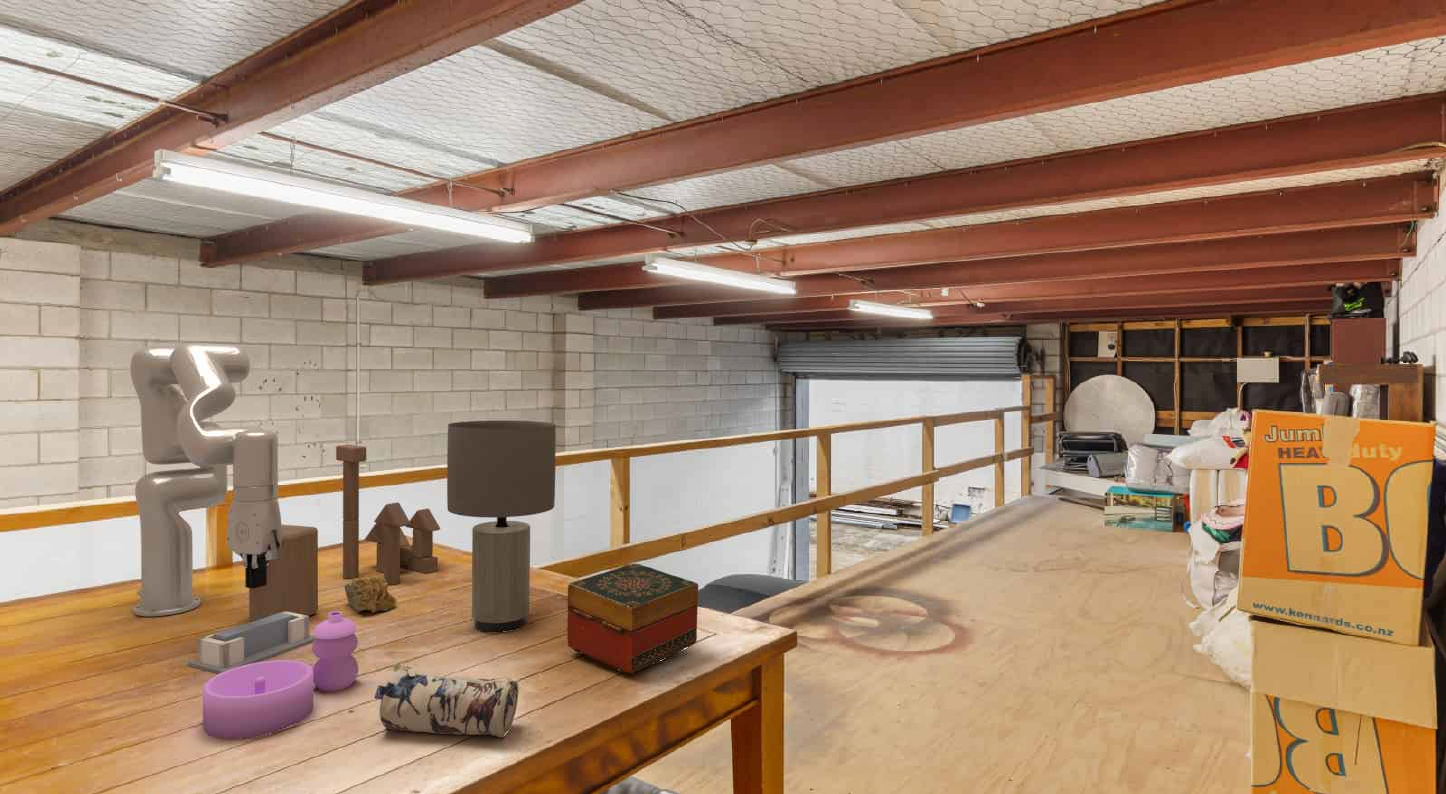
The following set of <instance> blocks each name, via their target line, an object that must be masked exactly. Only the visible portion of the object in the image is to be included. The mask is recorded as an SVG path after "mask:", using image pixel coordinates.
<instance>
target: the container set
mask: <svg viewBox="0 0 1446 794" xmlns="http://www.w3.org/2000/svg"><path fill="white" fill-rule="evenodd" d="M327 615H328V617H327V618H328V619H325V620H323V621H322V622H320V623H319V624H317V625H316V626H315V628H314V630H313V634H314V635H313V636H315V637H316V639H315V640H314V642H312V645H311V650H312V653H313V654H314V655H315V656H316V658H318V660H317V661H316V662H315V664H314V665H313V666H312V665H311V664H309V663H307V662H303V661H299V660H294V659H293V660H292V659H290V660H289V659H279V660H277V659H276V660H266V661H265V660H263V661H260V662H257V663H252V664H247V665H243V666H239V667H236V668H233V669H230V670H227V671H224V672H222V673H220V674H218V673H217V674H216V675H213V676H212V677H211V678H209V679H208V680H207V681H206V682H205V683H204V684H203V687H202V728H203V732H204V733H205V734H206V735H208V736H211V737H212V738H217V739H223V740H242V739H252V738H257V737H256V736H258V737H262V735H264V736H266V735H265V734H268V735H270V734H269V733H272V734H275V733H278V732H280V731H279V730H281V731H283V730H282V729H284V728H287V727H289V726H291V725H294V724H295V723H298V724H300V723H301V722H303V721H304V720H306V719H307V718H308V717H309V716H310V715H311V713H312V712H313V710H314V686H315V687H317V688H318V689H319V690H320V691H322V692H327V693H328V692H338V691H341V690H345V689H346V688H348V687H350V686H351V685H352V684H353V682H354V681H355V679H356V678H357V677H358V675H359V674H358V673H359V666H358V665H359V664H358V661H357V659H356V658H355V657H354V656H353V653H354V652H355V651H356V649H357V647H358V644H359V641H358V637H357V635H356V634H355V632H356V629H357V625H356V623H355V622H354V621H353V620H352V619H349V618H345V617H343V612H342V611H339V610H337V611H335V610H334V611H330V612H329V613H328V614H327ZM309 714H310V715H309ZM308 715H309V716H308ZM306 717H307V718H306ZM302 720H303V721H302ZM294 726H295V725H294ZM291 727H292V726H291ZM289 728H290V727H289ZM287 729H288V728H287ZM284 730H285V729H284ZM277 731H278V732H277ZM274 732H275V733H274ZM240 738H241V739H240Z"/></svg>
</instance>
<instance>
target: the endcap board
mask: <svg viewBox="0 0 1446 794" xmlns="http://www.w3.org/2000/svg"><path fill="white" fill-rule="evenodd" d="M282 613H285V614H290V615H293V620H291V621H288V641H287V642H285V643H282V644H279V645H276V646H273V647H271V648H268V649H265V650H262V651H259V652H256V653H254V654H251V655H248V656H245V657H244V638H242V637H239V638H236V639H233V640H230V641H227V642H224V641H220V640H216V639H214V634H215V633H213V634H210V635H206V636H202V637H199V638H197V656H198V657H197V658H195V659H193V660H190V661H188V662H187V666H188V667H192V668H196V669H200V670H203V671H208V672H210V673H214V674H217V675H218V674H220V673H222V672H224V671H227V670H230V669H233V668H236V667H239V666H243V665H247V664H252V663H257V662H263V661H265V660H267V659H271V658H274V657H275V656H279V655H282V654H284V653H286V652H290V651H292V650H294V649H295V650H296V649H298V648H300V647H304V646H306V645H308V644H311V643H313V642H314V640H315V639H316V637H315V635H311V634H310V616H306V615H301V614H296V613H291V612H287V611H285V612H282ZM278 614H279V613H278ZM275 615H276V614H275ZM272 616H273V615H272ZM219 632H220V631H218V632H217V633H219Z"/></svg>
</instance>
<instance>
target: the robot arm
mask: <svg viewBox="0 0 1446 794" xmlns="http://www.w3.org/2000/svg"><path fill="white" fill-rule="evenodd" d="M129 369H130V378H131V381H132V385H133V387H134V389H135V393H136V395H137V396H138V397H137V398H138V400H139V403H140V422H141V424H140V425H141V426H140V427H141V445H142V446H141V447H142V453H143V457H144V459H145V460H146V461H147V463H149V464H152V465H156V466H157V465H179V464H180V465H181V464H191V463H192V464H193V465H195V466H197V467H195V468H178V469H168V470H161V471H155V472H150V473H147V474H145V475H143V476H141V478H139V479H138V480H137V482H136V484H135V488H134V495H135V500H136V504H137V509H138V513H139V514H138V515H139V524H140V552H141V554H140V568H141V570H140V572H141V573H140V575H141V578H140V579H141V582H140V583H141V589H139V590H137V591H136V593H135V594H136V596H138V597H140V602H138V603H137V604H135V605H134V606H132V607H133V608H132V613H133V614H134V615H136V616H140V617H163V616H170V615H175V614H180V613H184V612H189V611H191V610H194V609H196V608H198V607H199V606H200V605H201V604H202V598H201V597H199V596H196V595H193V593H194V590H193V588H194V586H193V583H194V582H193V581H194V579H193V578H194V577H193V575H194V574H193V572H194V571H193V564H194V563H193V561H194V560H193V554H194V553H193V530H192V527H191V525H190V523H188V521H186V520H185V519H184V518H183V517H182V516H181V514H180V513H181V512H185V511H192V510H198V509H199V510H200V509H206V508H213V507H217V506H220V505H222V504H223V503H224V502H225V500H226V498H227V496H228V495H227V494H228V466H232V500H231V502H230V506H229V511H228V515H227V516H228V518H227V530H226V547H227V549H228V550H230V551H232V552H233V553H234V554H236V555H237V556H240V557H241V559H242V566H243V568H244V570H245V572H244V574H245V581H244V583H245V584H244V585H245V588H247V589H249V588H251V589H254V588H258V587H262V586H265V585H266V584H267V566H268V565H269V561H270V560H272V559H276V558H278V553H277V550H279V549H280V548H281V544H282V525H283V524H282V517H281V516H282V515H281V509H280V502H279V448H278V447H279V439H278V435H277V433H276V432H275V431H272V430H266V429H263V428H261V427H258V426H239V427H238V426H226V427H221V426H220V425H219V424H217V423H215V422H213V421H207V419H209V418H213V417H215V416H216V415H218V414H220V413H223V412H224V411H226V410H227V409H229V408H230V407H231V406H232V404H233V403H234V402H235V400H236V397H237V393H236V389H235V387H234V385H233V384H236V383H240V382H243V381H244V380H246V378H248V375H250V370H251V362H250V359H249V355H248V354H247V352H246V351H245V350H244V349H243V348H242V347H241V346H239V345H236V344H231V343H204V342H203V343H201V342H193V343H185V344H181V345H179V346H169V345H168V346H166V345H165V346H149V347H147V346H146V347H144V348H141V349H139V350H137V351H136V352H134V353H133V355H132V357H131V361H130V368H129ZM174 385H179V387H180V388H181V392H182V393H183V395H182V394H181V392H180V391H179V390H178V388H176V387H175V386H174ZM185 398H186V399H185ZM204 420H206V421H204Z"/></svg>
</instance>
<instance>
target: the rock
mask: <svg viewBox="0 0 1446 794" xmlns="http://www.w3.org/2000/svg"><path fill="white" fill-rule="evenodd" d="M388 586H389V585H388V583H387V582H386V580H385V579H384V577H383V578H382V577H380V576H364V577H362V578H361V577H360V578H358V577H357V578H354V579H351V581H350V582H348V583H347V584H345V585H344V587H343V588H344V592H345V595H346V598H347V603H348V605H349V606H350V608H352V609H353V610H354V611H355V612H357V613H360V612H363V611H371V613H373V614H374V613H377V612H379V611H382V612H387V611H388V610H392V608H394V607H395V605H396V603H397V602H398V601H397V599H396V598H395V597H394V596H393V595H391V593H390V592H389V591H388V588H389V587H388Z"/></svg>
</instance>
